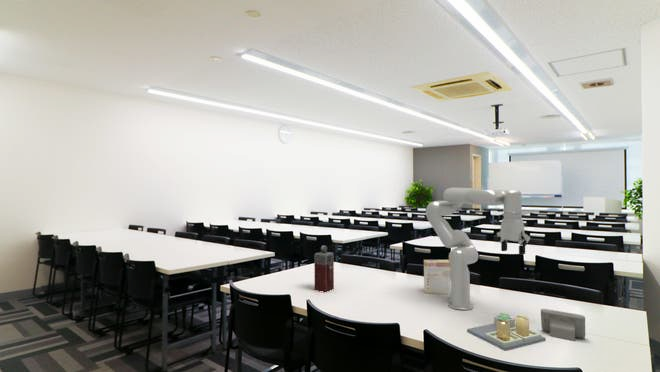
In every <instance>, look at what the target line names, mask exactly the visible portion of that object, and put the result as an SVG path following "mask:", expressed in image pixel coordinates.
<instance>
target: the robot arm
mask: <svg viewBox="0 0 660 372" xmlns="http://www.w3.org/2000/svg"><path fill="white" fill-rule="evenodd" d="M443 198H444V200H434V201H431V202H430V203H429V204H428V205H427V206H426V211H425V215H426V218H427V221H428V222H429V224H430V225H431V226H432V228H433V229H434V232H435V233H436V234H437V236H438V238H439V240H440V242H441V243H442V245H443V246H444V247H445V248H447V249H451V250H450V252H449V253H448V260H449V262H450V269H451V294H448V296H447V297H446V299H448V300H449V302H448V303H447V306H448V307H449V308H451V309H453V310H454V309H455V310H458V311H471V310H473V309H474V305H473V304H472V303H471V289H470V288H471V283H470V281H471V280H470V279H471V278H470V277H471V276H470V269H469V267H468V265H471V264H475V263H476V262H478V260H479V252H478V249H477V248H476V247H475V245H474V243H473V242H472V240H471V239H470V237H469V236H468V234H467V233H466V232H464V231H463V230H461V229H453V228H452V227H451V225H450V223H449V222H448V221H447V220H446V219H445V218H444V217H443V216H450V215H452V214H454V213H455V212H456V211H457V210H458V209H459V208H460V207H462V206H463V205H474V206H475V205H477V206H503V213H502V216H503V218H502V220H501V222H500V223H501V224H500V231H498V232H496V235H497V238H498V240H499V242H500V244H501V245H500V246H501V247H500V248H501V249H500V250H501V251H502V252H507V251H508V241H511V242H518V245H519V246H518V254H519V255H525V254H526V246H527V245H528V244H529V241H530V240H531V236H529V235H528V234H527V233H525V225H524V220H523V219H522V213H523V212H522V210H523V209H522V192H521V191H520V190H516V189H515V190H514V189H510V190H509V189H508V190H504V189H475V188H473V187H449V188H446V189H445V190H444V192H443Z"/></svg>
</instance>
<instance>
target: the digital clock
mask: <svg viewBox="0 0 660 372" xmlns="http://www.w3.org/2000/svg"><path fill="white" fill-rule="evenodd" d="M540 322H541V324H540V325H541V329H542V331H545V332H548V333H549V337H553V338H557V339H563V340H568V341H573V342H575V341H576V338H578V339H584V338H585V337H586V317H585V315H582V314H579V313H573V312H567V311H560V310H554V309H550V308H541V309H540Z"/></svg>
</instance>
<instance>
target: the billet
mask: <svg viewBox="0 0 660 372" xmlns="http://www.w3.org/2000/svg"><path fill="white" fill-rule="evenodd" d="M496 331H497V338H498V339H500V340H502V341H509V340H510V322H509V321H507V320H504V319H498V320H496Z"/></svg>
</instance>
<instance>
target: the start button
mask: <svg viewBox="0 0 660 372" xmlns="http://www.w3.org/2000/svg"><path fill="white" fill-rule="evenodd" d="M498 316H499V318H501V319H504V320H508V319H509V317H510V315H509V313H499V315H498Z"/></svg>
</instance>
